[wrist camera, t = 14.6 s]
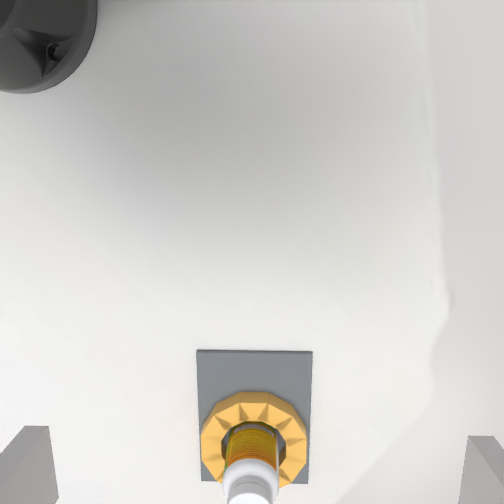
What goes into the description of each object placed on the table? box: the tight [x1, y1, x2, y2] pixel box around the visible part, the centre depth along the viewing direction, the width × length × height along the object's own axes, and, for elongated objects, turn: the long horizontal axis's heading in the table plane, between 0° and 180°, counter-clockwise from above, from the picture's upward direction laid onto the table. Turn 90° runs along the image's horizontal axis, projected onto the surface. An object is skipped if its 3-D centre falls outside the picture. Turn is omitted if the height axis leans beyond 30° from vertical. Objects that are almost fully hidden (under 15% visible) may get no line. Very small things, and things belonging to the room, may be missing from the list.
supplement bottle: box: [222, 421, 279, 504], centre depth 41 cm, size 5×5×10 cm
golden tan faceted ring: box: [201, 392, 307, 488], centre depth 45 cm, size 11×11×2 cm
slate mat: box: [196, 350, 312, 484], centre depth 46 cm, size 12×16×1 cm
